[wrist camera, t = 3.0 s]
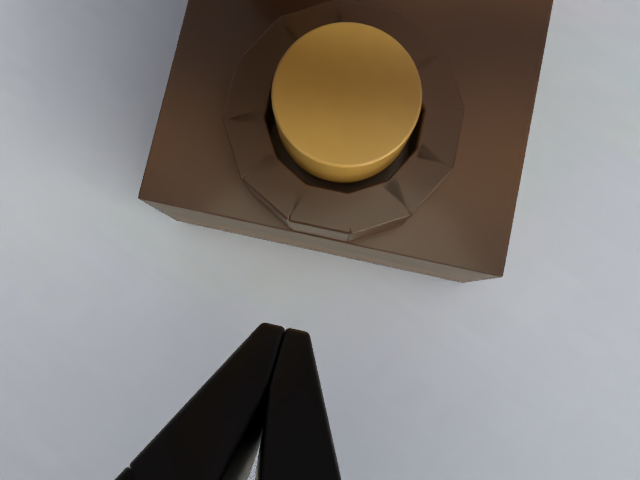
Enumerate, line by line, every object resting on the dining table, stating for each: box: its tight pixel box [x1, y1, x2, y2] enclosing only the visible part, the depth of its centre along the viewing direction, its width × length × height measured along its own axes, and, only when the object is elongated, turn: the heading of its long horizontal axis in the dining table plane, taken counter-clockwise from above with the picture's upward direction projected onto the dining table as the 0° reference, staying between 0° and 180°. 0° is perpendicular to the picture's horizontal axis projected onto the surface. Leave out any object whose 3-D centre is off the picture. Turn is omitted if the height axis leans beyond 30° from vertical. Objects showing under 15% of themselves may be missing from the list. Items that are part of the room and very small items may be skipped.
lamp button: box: [271, 22, 422, 183], centre depth 16 cm, size 4×4×2 cm
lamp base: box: [138, 0, 553, 283], centre depth 21 cm, size 13×12×7 cm
